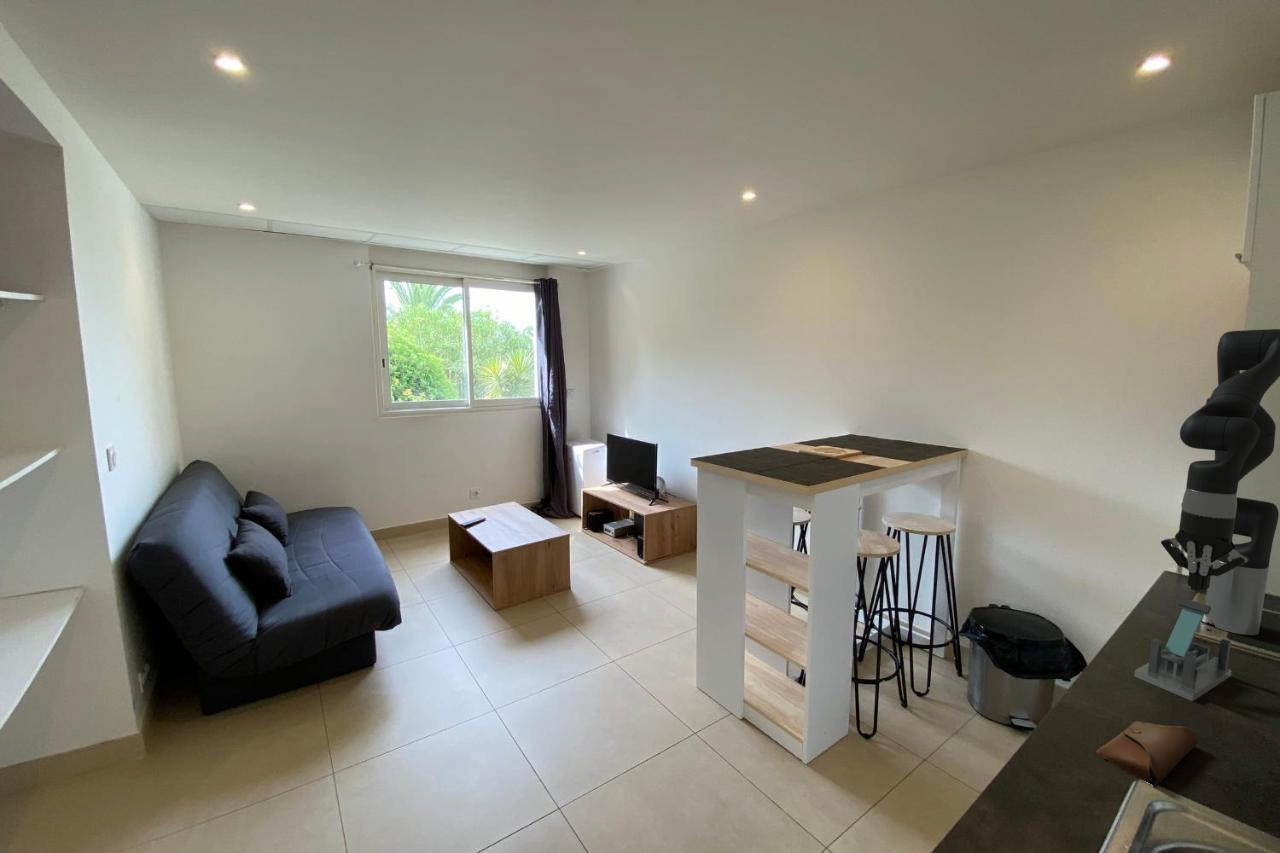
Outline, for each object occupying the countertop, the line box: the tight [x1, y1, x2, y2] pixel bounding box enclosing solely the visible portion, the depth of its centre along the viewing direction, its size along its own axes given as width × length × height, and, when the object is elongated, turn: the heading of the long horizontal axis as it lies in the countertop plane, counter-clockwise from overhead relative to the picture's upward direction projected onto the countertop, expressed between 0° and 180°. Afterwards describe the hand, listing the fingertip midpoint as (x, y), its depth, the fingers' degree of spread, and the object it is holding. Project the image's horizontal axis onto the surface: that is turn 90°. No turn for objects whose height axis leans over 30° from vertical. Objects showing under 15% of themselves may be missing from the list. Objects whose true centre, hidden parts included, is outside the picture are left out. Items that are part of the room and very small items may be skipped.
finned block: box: [1134, 638, 1232, 702], centre depth 109 cm, size 18×9×8 cm, turn 115°
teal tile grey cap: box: [1161, 597, 1211, 665], centre depth 107 cm, size 14×4×2 cm
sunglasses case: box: [1095, 720, 1198, 788], centre depth 89 cm, size 18×7×7 cm
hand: (1197, 589), depth 108 cm, fingers closed
